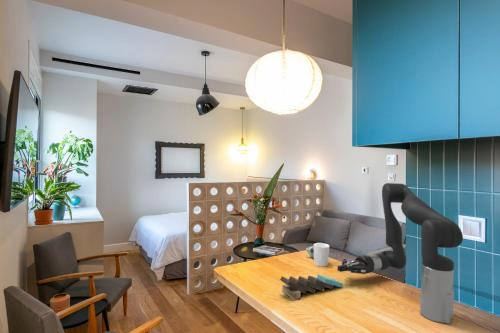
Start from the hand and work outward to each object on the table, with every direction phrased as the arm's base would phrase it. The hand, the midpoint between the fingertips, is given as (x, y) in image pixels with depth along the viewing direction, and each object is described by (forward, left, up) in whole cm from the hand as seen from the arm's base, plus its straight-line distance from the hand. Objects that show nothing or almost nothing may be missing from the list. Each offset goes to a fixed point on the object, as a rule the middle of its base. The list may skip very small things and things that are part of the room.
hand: (338, 268), depth 126 cm
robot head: (+26, -22, -7) cm, 35 cm away
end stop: (+8, +22, -7) cm, 25 cm away
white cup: (+18, -17, -7) cm, 26 cm away
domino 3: (+3, +9, -6) cm, 11 cm away
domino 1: (+6, +17, -6) cm, 19 cm away
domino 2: (+5, +13, -6) cm, 16 cm away
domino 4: (+2, +4, -6) cm, 8 cm away
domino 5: (0, 0, -6) cm, 6 cm away
